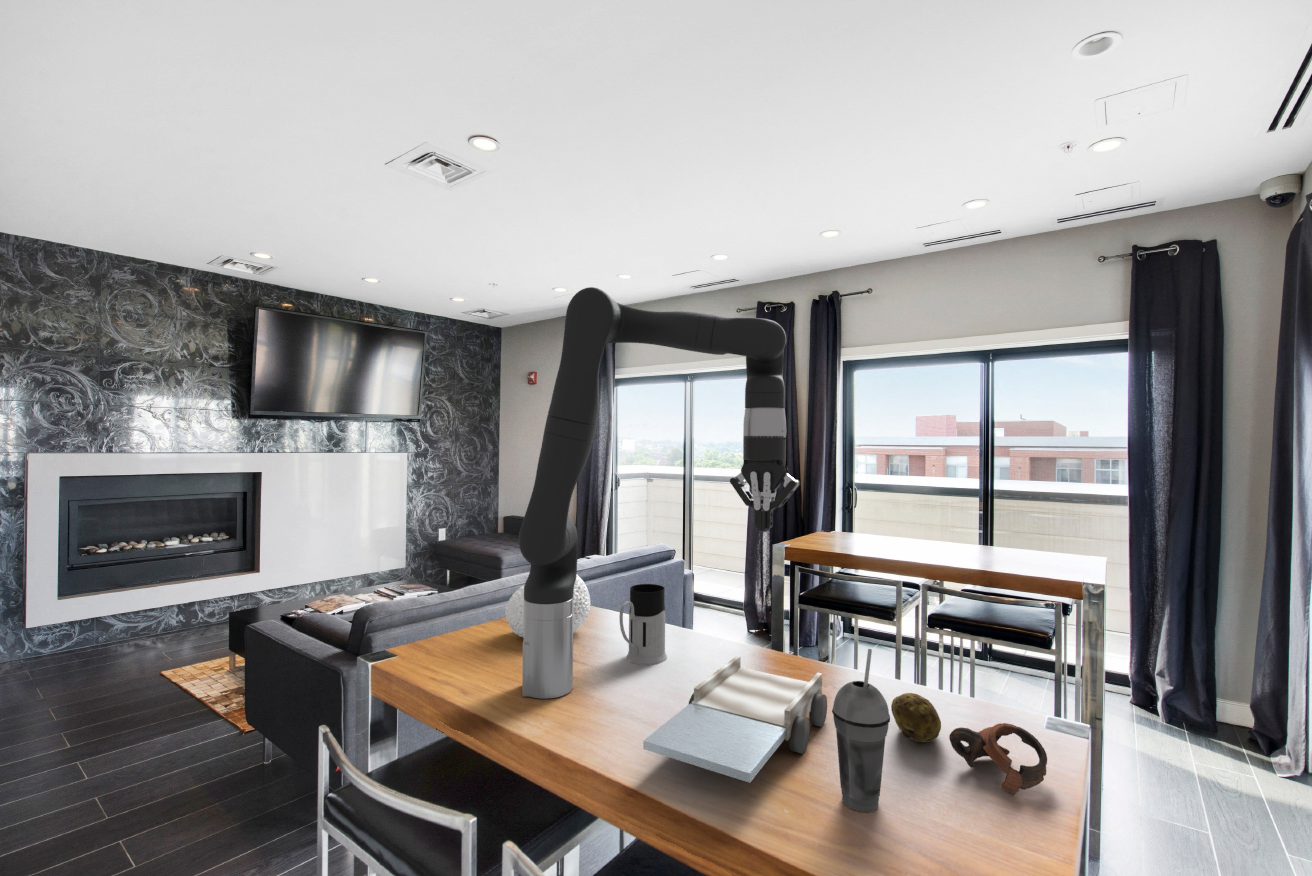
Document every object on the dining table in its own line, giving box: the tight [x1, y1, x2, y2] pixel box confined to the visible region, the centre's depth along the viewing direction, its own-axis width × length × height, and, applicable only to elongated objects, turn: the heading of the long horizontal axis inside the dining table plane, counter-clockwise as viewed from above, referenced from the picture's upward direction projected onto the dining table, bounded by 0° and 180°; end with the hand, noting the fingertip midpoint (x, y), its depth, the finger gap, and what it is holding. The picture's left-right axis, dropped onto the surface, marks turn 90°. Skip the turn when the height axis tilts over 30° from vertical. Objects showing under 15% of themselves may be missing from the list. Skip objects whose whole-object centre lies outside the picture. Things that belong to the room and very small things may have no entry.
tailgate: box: [642, 703, 786, 784], centre depth 88 cm, size 2×16×14 cm
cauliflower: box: [504, 574, 592, 639], centre depth 146 cm, size 20×18×16 cm
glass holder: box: [618, 583, 668, 666], centre depth 130 cm, size 9×14×15 cm, turn 148°
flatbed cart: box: [687, 655, 828, 755], centre depth 102 cm, size 18×19×7 cm
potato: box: [890, 692, 942, 743], centre depth 97 cm, size 8×13×8 cm, turn 139°
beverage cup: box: [831, 648, 891, 813], centre depth 80 cm, size 7×7×20 cm
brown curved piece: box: [948, 722, 1048, 795], centre depth 87 cm, size 12×10×8 cm
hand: (763, 530), depth 109 cm, fingers closed
